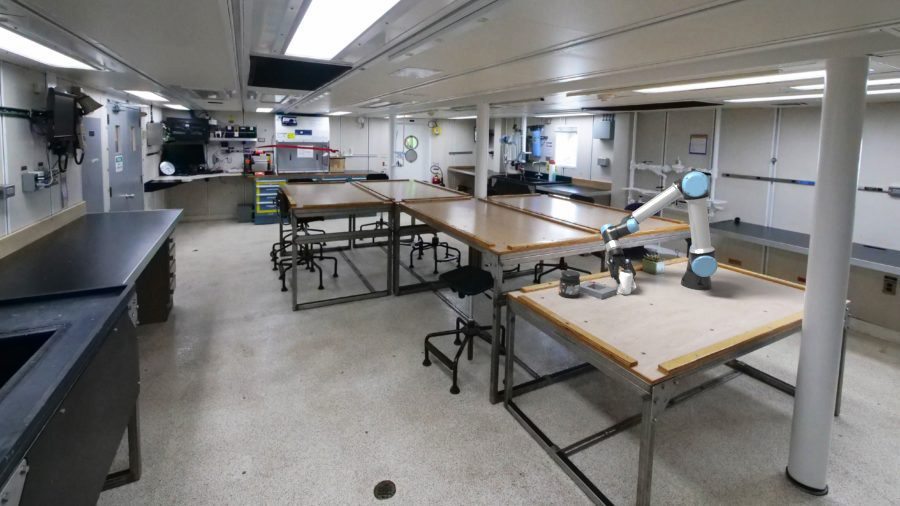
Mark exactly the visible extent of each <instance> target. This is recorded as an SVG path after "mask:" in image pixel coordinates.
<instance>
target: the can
mask: <svg viewBox="0 0 900 506" xmlns="http://www.w3.org/2000/svg"><path fill="white" fill-rule="evenodd" d="M619 277H621V280H622V282H623V285H624V289H623V290H620V287H619V284H617V293H619V294H621V295H625V296H627V295H630V294H631V292H632V278H633V274H632V271H631V270H624V269H621V270H620V271H619Z"/></svg>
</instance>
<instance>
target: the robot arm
mask: <svg viewBox="0 0 900 506" xmlns="http://www.w3.org/2000/svg"><path fill="white" fill-rule="evenodd" d="M709 187H710V180H709V178H708V176H707V175H706V174H705V173H703V172H702V171H699V170H695V169H693V170H688V171H686V172H685V173H684V174H683V175H681V176H680V177H679V178H677V179H676V180H675V181H673V182H672V185H670V186H668V188H667V189H665V190H663V191H662V192H661V193H659V194H657V195H656V196H654V197H653V198H652V199H650V200H649V201H647V202H646V203H644V204H643V205H641V206H640V207H639V208H636V210H634V211H632V212H631V213H629V214H628V215H626V216H624V217H622V218H621V220H620V223H618V224H615V225H613V223H605V224H603V225H602V226H601V227H600V229H599V230H600V234H601V237H602V240H603V243H604V245H605V249H606V251H607V254H608V257H609V259H608V260H607V261H606V265H607V267H608V270H609V275H610V278H611V279H613V280H615V282H616V284H617V285H618V284H619V287H620V290H623V289H624V285H623V282H622V280H621V277H619V276H620V269H619V268H620V267H621V268H622V270H631V271H632V274H633V278H632V286H631V290H635V289H637V284H636V278H635V276H636V275H637V272H636V270H635V268H634V266H633V263H632V260H631V258H626V257H625V254H624V250H623V249H622V246H621V243H620V239H621V238H624V237H626V236H629V235H632V234H635V233H636V232H639V231H640V224H641V223H643V222H644V221H646V220H648V219H650V218H651V217H652V216H654V215H656V213H657V214H658V212H659V211H661V210H663V209H664V208H666V207H667V206H669V205H671V204H672V203H673V202H675V201H677V200H678V199H679V198H681V197H682V198H683V201H685V202H686V203H687V211H688V219H689V222H688V223H689V230H690V238H691V245H690V247H689V252H688V259H687V266H686V271H685V272H684V274H683V276H682V277H681V279H680V285H682V286H683V287H686V288H688V289H691V290H699V291H708V290H711V289H712V278H711V276H713V275H714V274H715V273H716V272H717V270H718V269H719V268H718V267H719V263H718V261H717V256H716V255H717V254H716V249H715V247H713V246H712V242H711V232H710V222H709V214H708V204H707V200H708V199H710V191H709V189H710V188H709Z"/></svg>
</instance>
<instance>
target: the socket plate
mask: <svg viewBox="0 0 900 506" xmlns="http://www.w3.org/2000/svg"><path fill="white" fill-rule="evenodd" d="M579 293H582V294H584V295H588V296H591V297H593V298H597V299H599V300H604V299H607V298H609V297H612V296H616V295H617V293H618V288H615V287H612V286H609V285H606V284H603V283H600V282H596V281H594V280H591V279H590V280H589V281H585V282H582V283H580V289H579Z"/></svg>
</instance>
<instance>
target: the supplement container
mask: <svg viewBox="0 0 900 506" xmlns="http://www.w3.org/2000/svg"><path fill="white" fill-rule="evenodd" d="M558 283H559V284H558V286H559V287H558V294H559V295H560V296H561V297H563V298H567V299H574V298H575V299H576V298H577V297H579V295H580V292H579V289H580V284H581V273H580V272H579V271H576V270H572V269H569V270H568V269H567V270H566V269H565V270H562V271H561V272H560V277H559V282H558Z"/></svg>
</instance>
